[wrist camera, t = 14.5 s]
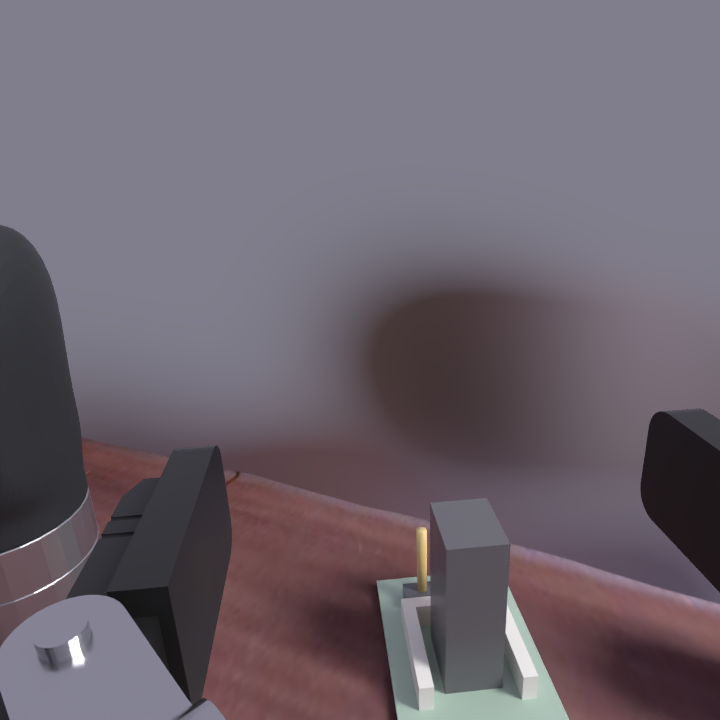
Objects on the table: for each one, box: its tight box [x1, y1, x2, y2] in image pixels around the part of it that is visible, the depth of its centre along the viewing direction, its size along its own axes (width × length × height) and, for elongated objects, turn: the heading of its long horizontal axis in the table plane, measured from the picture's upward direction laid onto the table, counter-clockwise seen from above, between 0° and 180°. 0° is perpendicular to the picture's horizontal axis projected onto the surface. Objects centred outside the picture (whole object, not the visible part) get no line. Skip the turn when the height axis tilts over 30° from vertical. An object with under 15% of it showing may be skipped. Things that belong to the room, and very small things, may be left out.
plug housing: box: [430, 498, 510, 694], centre depth 39 cm, size 5×4×12 cm
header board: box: [377, 527, 569, 720], centre depth 41 cm, size 15×11×8 cm
